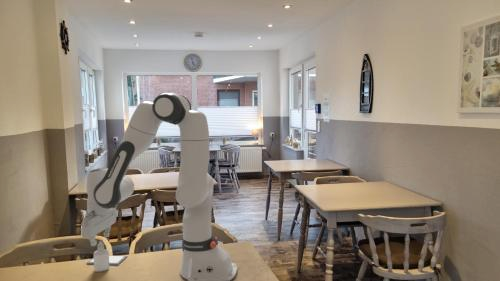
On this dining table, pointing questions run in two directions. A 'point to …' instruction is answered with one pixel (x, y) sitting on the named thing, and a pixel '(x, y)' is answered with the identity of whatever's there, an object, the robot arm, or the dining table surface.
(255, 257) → the dining table surface
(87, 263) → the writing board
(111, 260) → the paper
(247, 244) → the dining table surface
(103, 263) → the eye dropper bottle
